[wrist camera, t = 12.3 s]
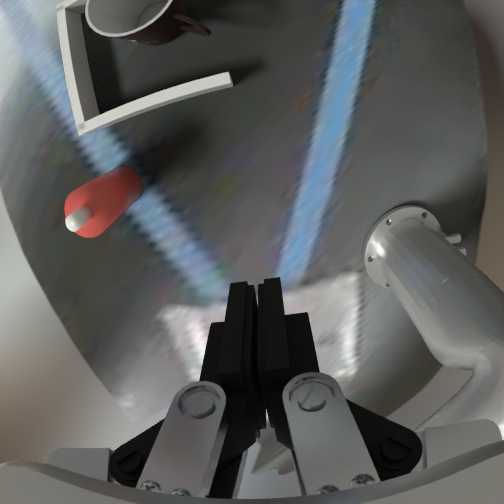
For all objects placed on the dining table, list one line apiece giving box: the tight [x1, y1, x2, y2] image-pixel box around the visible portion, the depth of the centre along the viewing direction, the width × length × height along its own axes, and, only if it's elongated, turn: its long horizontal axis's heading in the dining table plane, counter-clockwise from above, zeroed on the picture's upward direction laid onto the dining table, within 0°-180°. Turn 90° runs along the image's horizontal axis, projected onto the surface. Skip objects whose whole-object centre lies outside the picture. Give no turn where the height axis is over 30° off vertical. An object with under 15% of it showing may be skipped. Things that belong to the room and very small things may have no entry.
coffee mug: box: [85, 0, 212, 46], centre depth 20 cm, size 12×9×10 cm
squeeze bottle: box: [65, 166, 142, 238], centre depth 28 cm, size 5×5×12 cm
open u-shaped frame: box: [56, 0, 233, 136], centre depth 23 cm, size 17×18×4 cm
